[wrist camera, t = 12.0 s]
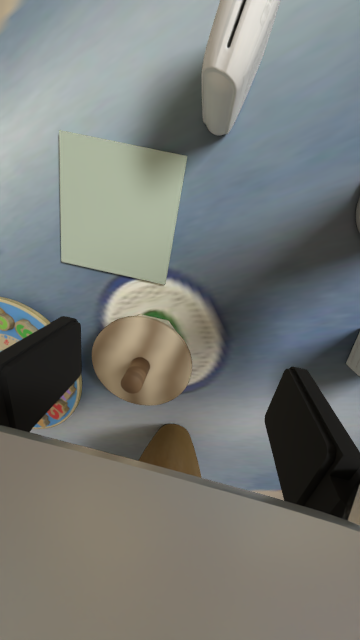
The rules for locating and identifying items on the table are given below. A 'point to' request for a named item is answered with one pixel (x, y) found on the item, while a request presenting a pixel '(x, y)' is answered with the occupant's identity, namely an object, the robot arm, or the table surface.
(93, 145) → the mat
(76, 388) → the shape sorting clock
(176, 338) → the lid
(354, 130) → the table surface
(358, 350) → the supplement box
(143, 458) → the plant pot
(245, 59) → the photo printer
